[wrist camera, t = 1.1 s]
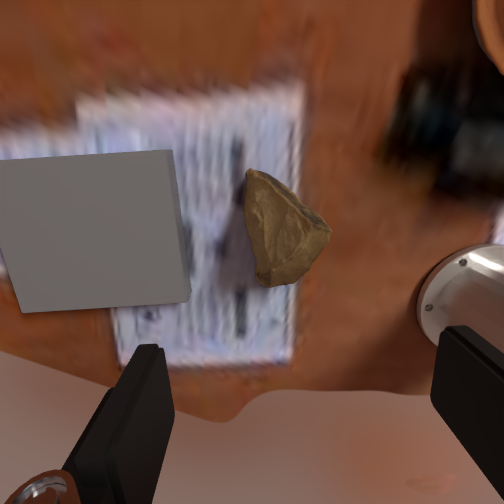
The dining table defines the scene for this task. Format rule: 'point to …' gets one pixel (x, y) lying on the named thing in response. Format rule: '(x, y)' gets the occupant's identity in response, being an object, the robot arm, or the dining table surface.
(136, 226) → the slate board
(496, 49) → the pie
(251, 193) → the rock
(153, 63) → the dining table surface
